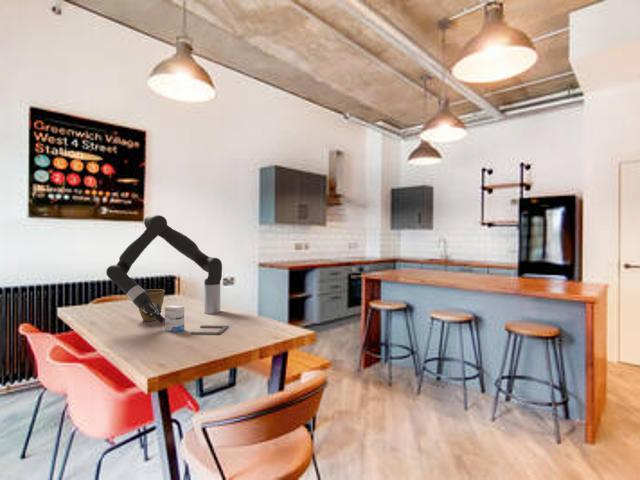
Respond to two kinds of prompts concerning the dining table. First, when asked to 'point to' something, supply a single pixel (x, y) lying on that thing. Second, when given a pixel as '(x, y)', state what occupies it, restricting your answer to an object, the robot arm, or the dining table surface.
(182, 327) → the ink box
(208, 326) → the frame
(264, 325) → the dining table surface
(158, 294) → the plant pot
